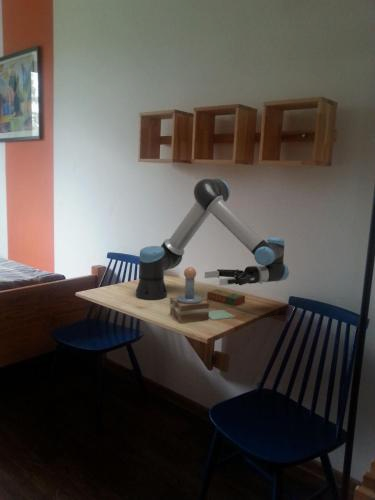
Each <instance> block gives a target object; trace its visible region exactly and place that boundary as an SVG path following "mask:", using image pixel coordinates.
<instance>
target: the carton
mask: <svg viewBox="0 0 375 500" xmlns="http://www.w3.org/2000/svg"><path fill="white" fill-rule="evenodd" d="M206 298H207V299H206V300H207V301H210V302H215V303H219V304H222V305H227V306H230V307H234V308H235V307H239V306H241V305H243V304H245V303H246V302H245V301H246V295H244V294H239V293H236V292H235V293H234V292H231V291H228V290H222V289H217V288H216V289H213V290H210V291H207V294H206Z"/></svg>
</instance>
